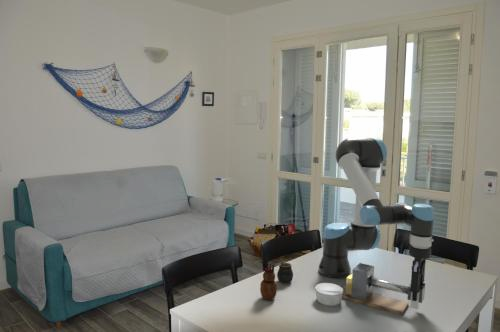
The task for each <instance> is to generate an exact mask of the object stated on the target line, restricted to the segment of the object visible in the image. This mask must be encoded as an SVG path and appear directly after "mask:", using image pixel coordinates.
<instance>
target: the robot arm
mask: <svg viewBox="0 0 500 332" xmlns="http://www.w3.org/2000/svg"><path fill="white" fill-rule="evenodd" d="M387 157H388V149H387V146H386V143H385V142H384V141H383V140H382V139H381V138H377V137H376V138H375V137H349V138H344V140H342V141H341V142H340V143H339V144H338V146H337V148H336V150H335V161H336V163H337V166H338V167H339V168H340V170H341V169H342V170H343V172H344V175H345V177H346V178H347V180H348V182H349V184H350V186H351V188H352V191H353V192H354V194H355V204H354V205H355V206H354V218H352V219H351V221H350V225H349V224H348V223H346V222H332V223H328V224H327V225H326V226H324V229H323V234H322V236H323V246H322V249H323V250H322V257H321V260H320V262H319V263H318V264H319V265H318V273H319V274H320V275H322V276H325V277H327V278H333V279H343V278H344V279H345V278H347V277H348V276H349V275H350V274H351V273H352V272H351V271H352V268H351V265H350V261H349V258H348V257H349V252H351V251H353V252H355V251H369V250H373V249H376V248H377V247H378V246H379V244H380V241H381V232H380V228H379V227H378V226H382V225H406V226H408V227H410V233H409V244H410V245H409V246H408V255H409V256H410V257H413V258H414V260H412V263H411V264H412V266H411V279H410V284H411V288H410V289H409V291H411V300H410V305H409V306H410V308H411V309H414V310H419V307H420V306H419V293H420V292H419V286H420V285H424V286H425V287H426V283H425V273H426V262H427V260H428V259H430V258H431V255H432V248H431V247H432V242H434V239H433V231H434V221H435V220H434V219H435V214H434V213H435V208H434V206H432V205H430V204H425V203H415V204H413V205H409V204H407V203H404V202H396V203H394V204H383V203H382V202H381V200H380V198H379V195H378V194H377V192H376V185H377V174H378V173H377V172H378V170H379V169H381V167H382V166H381V165H382V164H383V163H384V162H386V160H387Z"/></svg>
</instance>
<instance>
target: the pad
mask: <svg viewBox="0 0 500 332" xmlns="http://www.w3.org/2000/svg"><path fill="white" fill-rule="evenodd" d="M342 289H343V288H342ZM342 295H344V296H347V297H351V296H350V295H347V294H346V288H345V289H343V294H342Z"/></svg>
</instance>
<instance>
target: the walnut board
mask: <svg viewBox="0 0 500 332" xmlns="http://www.w3.org/2000/svg"><path fill="white" fill-rule="evenodd" d="M345 288H346V285H345V286H344V287H342V289H345ZM341 300H346V301H350V302H354V303H356V304H360V305H364V306H367V307H368V306H369V307H371V308H374V309H377V310H378V309H379V310H382V311H386V312H390V313H392V314H393V313H394V314H397V315H400V316H403V314H404V312H405V311H406V310H407V308H408V307H409V301H405V300H401V299H397V298H393V297H389V296H387V295H386V296H385V295H381V294H378V293H374V292H373V294H372V295H371V296H370V297H369V298H368V300H367V301H362V300H358V299H355V298H351V297H347V296H344V295H342V298H341Z"/></svg>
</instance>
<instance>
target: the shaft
mask: <svg viewBox="0 0 500 332" xmlns="http://www.w3.org/2000/svg"><path fill="white" fill-rule="evenodd" d="M368 285H371V286H373V287H375V288H379V289H383V290H388V291H391V292H396V293H400V294H404V295H407V300H408V301H411V291H409V289H410V288H411V283H410V284H408V286H407V285H403V284H399V283H394V282H391V281H387V280H382V279H378V278H370V277H369V284H368ZM425 289H426V285H425V286H424V285H420V286H419V292H420V293H419V303H420V304H422V303H423V302H424V299H425V293H426V292H425V291H426V290H425Z"/></svg>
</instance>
